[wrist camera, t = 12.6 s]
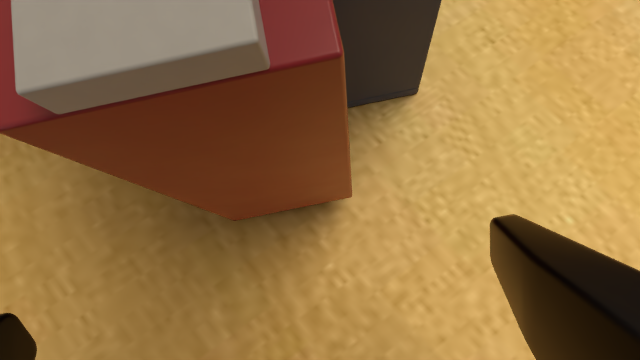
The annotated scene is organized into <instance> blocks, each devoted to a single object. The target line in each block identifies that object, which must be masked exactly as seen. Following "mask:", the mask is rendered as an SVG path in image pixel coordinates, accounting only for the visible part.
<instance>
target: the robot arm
mask: <svg viewBox="0 0 640 360" xmlns="http://www.w3.org/2000/svg"><path fill="white" fill-rule="evenodd" d="M490 256H491V261H492V265H493V267H494V270H495V272H496V274H497V277H498V279H499V281H500V284H501V286H502V288H503V290H504V293H505V295H506V297H507V300H508V302H509V304H510V307H511V309H512V311H513V313H514V316H515V318H516V320H517V323H518V325H519V327H520V329H521V332H522V334H523V336H524V338H525V340H526V342H527V344H528V346H529V348H530V350H531V351H532V353H533V355H534V357H535V358H536V360H640V271H639V270H637V269H634V268H632V267H630V266H628V265H626V264H623V263H621V262H619V261H617V260H615V259H612V258H610V257H608V256H606V255H604V254H601V253H599V252H597V251H595V250H593V249H590V248H588V247H586V246H584V245H582V244H579V243H577V242H575V241H573V240H571V239H568V238H566V237H564V236H562V235H560V234H557V233H555V232H553V231H551V230H549V229H546V228H544V227H542V226H540V225H538V224H535V223H533V222H531V221H529V220H527V219H524V218H522V217H520V216H518V215H514V214H512V215H506V216H501V217H496V218H493V219H492V220H491V223H490ZM36 353H37V347H36V343H35V341H34V339H33V338H32V336H31V335H30V334H29V332H28V331H27V330H26V328H25V327H24V326H23V324H22V323H21V321H20V320H19V319H18V317H17V316H15V315H14V314H12V313H4V314H0V360H35V357H36Z"/></svg>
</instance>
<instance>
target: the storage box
mask: <svg viewBox="0 0 640 360" xmlns="http://www.w3.org/2000/svg"><path fill="white" fill-rule="evenodd" d="M333 4H334V8H335V13H336V17H337V22H338V26H339V31H340V36H341V40H342V45H343V49H344V60H345V77H346V95H347V108H348V107H353V106H358V105H363V104H367V103H372V102H377V101H382V100H387V99H392V98H396V97H401V96H406V95H411V94H416V93H417V92H418V88H419V84H420V81H421V77H422V73H423V69H424V65H425V61H426V58H427V54H428V50H429V46H430V42H431V38H432V35H433V31H434V27H435V23H436V19H437V15H438V12H439V8H440V4H441V0H333Z"/></svg>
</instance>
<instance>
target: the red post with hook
mask: <svg viewBox="0 0 640 360" xmlns="http://www.w3.org/2000/svg"><path fill="white" fill-rule="evenodd" d="M0 133H1V134H3V135H6V136H9V137H11V138H14V139H17V140H19V141H22V142H25V143H28V144H30V145H33V146H36V147H38V148H41V149H44V150H46V151H49V152H52V153H54V154H57V155H60V156H62V157H65V158H68V159H70V160H73V161H76V162H78V163H81V164H84V165H86V166H89V167H92V168H94V169H97V170H100V171H102V172H105V173H108V174H111V175H113V176H116V177H119V178H121V179H124V180H127V181H129V182H132V183H135V184H137V185H140V186H143V187H145V188H148V189H151V190H153V191H156V192H159V193H161V194H164V195H167V196H169V197H172V198H175V199H177V200H180V201H183V202H185V203H188V204H191V205H193V206H196V207H199V208H202V209H204V210H207V211H210V212H212V213H215V214H218V215H220V216H223V217H226V218H228V219H231V220H234V221H236V220H241V219H246V218H251V217H255V216H260V215H265V214H270V213H275V212H280V211H285V210H290V209H295V208H300V207H305V206H310V205H315V204H320V203H325V202H330V201H335V200H340V199H344V198H349V197H352V185H351V167H350V149H349V131H348V113H347V95H346V77H345V60H344V49H343V45H342V40H341V36H340V31H339V26H338V22H337V17H336V13H335V8H334V4H333V0H0Z"/></svg>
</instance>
